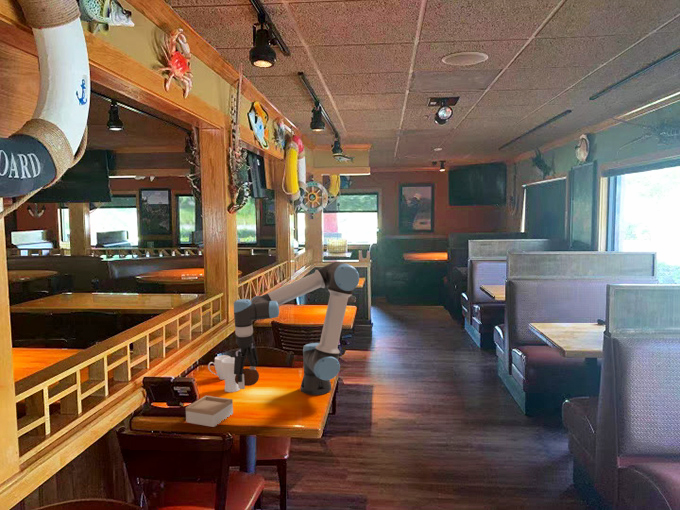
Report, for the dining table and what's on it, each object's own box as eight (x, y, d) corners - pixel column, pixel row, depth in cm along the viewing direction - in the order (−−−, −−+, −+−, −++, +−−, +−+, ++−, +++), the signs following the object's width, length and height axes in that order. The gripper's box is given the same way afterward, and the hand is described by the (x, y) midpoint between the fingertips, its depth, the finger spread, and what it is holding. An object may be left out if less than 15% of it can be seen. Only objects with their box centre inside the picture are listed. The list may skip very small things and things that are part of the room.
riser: (233, 413, 219) (232, 399, 219) (213, 427, 207) (213, 411, 206) (206, 409, 225) (205, 395, 224) (186, 422, 212) (185, 407, 211)
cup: (238, 394, 243) (236, 364, 241) (217, 392, 245) (216, 363, 243) (246, 386, 253) (245, 357, 252) (227, 385, 255) (225, 356, 254)
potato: (262, 385, 219) (261, 368, 218) (238, 390, 214) (237, 374, 213) (256, 379, 226) (255, 363, 226) (233, 385, 221) (231, 368, 221)
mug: (228, 374, 271) (227, 354, 270) (233, 379, 264) (232, 358, 263) (206, 379, 265) (205, 358, 264) (211, 383, 258) (210, 362, 257)
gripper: (250, 328, 229) (253, 375, 232) (222, 341, 209) (226, 392, 212) (264, 328, 227) (267, 376, 229) (237, 342, 206) (241, 394, 209)
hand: (247, 384), depth 220 cm, fingers closed on potato, 9 cm apart
